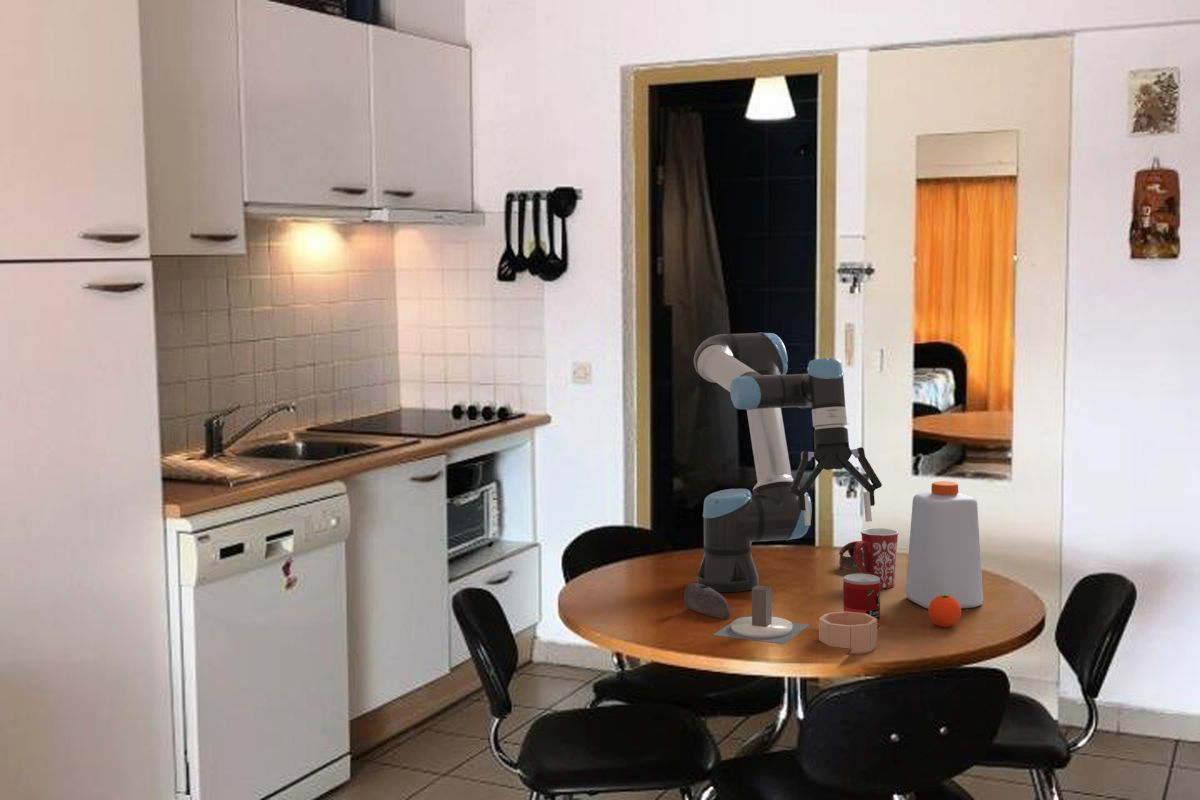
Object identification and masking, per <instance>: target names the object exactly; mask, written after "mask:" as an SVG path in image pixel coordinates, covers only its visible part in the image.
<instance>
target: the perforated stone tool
mask: <svg viewBox="0 0 1200 800" xmlns="http://www.w3.org/2000/svg"><path fill="white" fill-rule="evenodd" d="M683 598H684V599H683V603H684V606H685V607H686V609H687V610H691V611H693V612H697V613H699V614H702V615H706V616H709V617H712V618H716V619H723V620H728V619H729V618H730V617H731V609H730V605H729V603H728V601H727V600H726V598H725V597H724V596H723V595H722V594H721V593H720V592H717V591H715V590H713V589H712V588H710V587H708V586H705V585H702V584H699V583H697V582H693V583H690V584H687V586H686V587H685V589H684V595H683Z"/></svg>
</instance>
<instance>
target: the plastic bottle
mask: <svg viewBox="0 0 1200 800" xmlns="http://www.w3.org/2000/svg"><path fill="white" fill-rule="evenodd" d="M930 488H931V491H929V492H920V493H916V494H915V495H914V496H913V498H912V503H911V504H912V505H911V518H910V530H909V544H908V555H907V556H908V557H907V568H906V569H907V570H906V584H905V596H906V598H907V599H908V600H909V601H911V602H913V603H915V604H916V605H918V606H920V607H922V608H924V609H928V610H929V605H930V603H931V602H932V600H933V599H934V598H936V597H937V596H940V594H946V595H948V596H951V597H953V598H954V599H956V600H957V601H958V603H959V605H960V607H961V610H962V609H970V608H977V607H979V606H980V605H982V603H983V602H984V594H983V578H982V562H981V561H982V559H981V545H980V544H981V542H980V541H981V540H980V529H979V528H980V527H979V526H980V525H979V511H978V508H979V507H978V501H977V499H975V498H974V497H972V496H971V495H970V496H969V495H968V494H964V493H961V492H959V484H958V483H957V482H955V481H948V480H947V481H933V482H932V483H931V487H930Z"/></svg>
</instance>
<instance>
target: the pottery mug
mask: <svg viewBox="0 0 1200 800" xmlns="http://www.w3.org/2000/svg"><path fill="white" fill-rule="evenodd" d="M859 541H860V540H855V541H851V542H848V543H847V544H845V545H843V546H842V548H840V550H839V553H838V554H839V555H840V556H839V563H838V565H839V568H840V570H841V569H843V570H844V568H852V567H854V566H857V564H856V561H855V557H854V548H855V545H856V543H857V542H859ZM846 552H847V553H848V554H849V556H844V554H845V553H846ZM860 557H861V561H862V563H863V552H862V547H861V551H860Z"/></svg>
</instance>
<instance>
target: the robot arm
mask: <svg viewBox="0 0 1200 800" xmlns="http://www.w3.org/2000/svg"><path fill="white" fill-rule="evenodd" d="M788 358H789V357H788V353H787V350H786V346H785V344H784V342H783V340H782V339H781V338H780V337H779V336H778V335H777V334H775V333H774V332H773V333H771V332H761V331H759V332H750V333H749V332H746V333H723V334H722V333H720V334H715V335H712V336H710V337H708V338H707V339H705V340H703V341H702V342H701V343H700V344H699V345H698V347H697V349H696V350H695V353H694V356H693V366H694V368H695V371H696V373H697V374H698V375H699V377H701V378H703V379H704V380H705V381H707V382H710V383H717V384H718V385H719V386H721V387H722V388H723V389H725V390H726V391H728V392H729V393H730V399H731V403H732V405H733V407H734V408H735V409H737V410H746V413H747V420H748V427H749V433H750V441H751V448H752V455H753V461H754V467H755V472H756V473H755V475H756V481H757V483H756V484H755V485H754V487H753V489H752V492H751V490H749V489H747V488H729V489H723V490H718V491H715V492H712V493H710V494H709V495H707V496H706V497H705V498H704V501H703V511H702V517H703V556H702V560H701V562H700V566H699V569H698V572H697V576H696V583H699V584H702V585H705V586H708V587H710V588H712V589H713V590H715V591H716V592H718V593H738V592H746V591H752V588H753V587H755V586H757V585H760V584H759V579H760V578H759V574H758V571H757V568H756V567H757V566H756V565H755V562H754V558H753V555H752V543H755V542H770V541H789V540H795V539H800V538H801V539H802V537H804V536H805V535H806V534H807V533H808V530H809V528H810V526H811V525H812V524H811V522H812V521H811V520H812V501H811V497H810V494H809V493H808V490H809V489H810V487H811V486H812V485H813V483H814V482H815V480H816V479H817V478H818V476H819V474H821V472H822V471H823V470H825V471H830V470H842V469H844V470H846V471H847V472H848V473H849V475H851V476H852V477H853V478H854V479H855V480H856V481H857V483H859V484H860V485H861V486H862V487H863V488H864V490H865V491H864V492H862V493H863V495H862V496H863V505H864V515H865V518H864V519H865V522H867V523H869V522H872V519H873V517H872V507H874V506H875V505H876V502H875V491H876V490H877V489H881V487H882V486H883V484H882V482H881V480H880V479H879V477H878V475H877V474H876V472H875V470H874V469H873V467H872V466H871V464H870V462H869V460H868V459H867V457H866V453H865V449H864V448H863V446H862V447H861V446H860V447H858V448H855V449H854V448H853V449H851V448H850V442H849V432H848V431H849V429H848V428H847V427H846V426H847V425H848V419H847V409H846V398H845V394H846V393H845V383H844V380H845V379H844V376H845V374H844V372H843V365H842V361H841V360H840V359H839V358H837V357H836V358H835V357H824V358H816V359H812V360H810V361H809V362H808V364H807V367H808V368H807V373H799V374H797V373H794V374H787V373H788V368H789V367H788V362H789V359H788ZM782 408H783V409H784V408H800V409H811V417H812V427H813V428H815V430H814V431H813V441H814V451H807V450H804V451H801V453H800V462H799V464H798V467H797V470H796V471H795V475H794V477H793V476H792V472H791V464H790V459H789V452H788V445H787V444H788V443H787V438H786V433H785V431H786V430H785V424H784V420H783V419H784V418H783V414H782ZM852 455H853V456H854V458H855V459H858V460H857V461H858V462H859V464H860V466H861V467H862V469H863V470H864V472H865V474H866V476H867V477H868V479H869V480H870V481H868V480H867V479H866V477H865V476H864V475H863V474H862V473H861V472H859V470H858V469H857V468H856V467H855V466H854V465H853V464H852V463H851V461H849V460H850V458H851V457H852ZM812 458H814V459H815V461H816V462H817V464H816V465H815V467H814V468H813V470H812V471H811V473H810V474H809V476H808V477H807V478H806V479H805V481H804V482H803V484H802V486H801V487H800V483H801V480H802V479H803V476H804V473H805V470H806V469H807V466H808V463H809V462H811V460H812Z"/></svg>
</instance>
